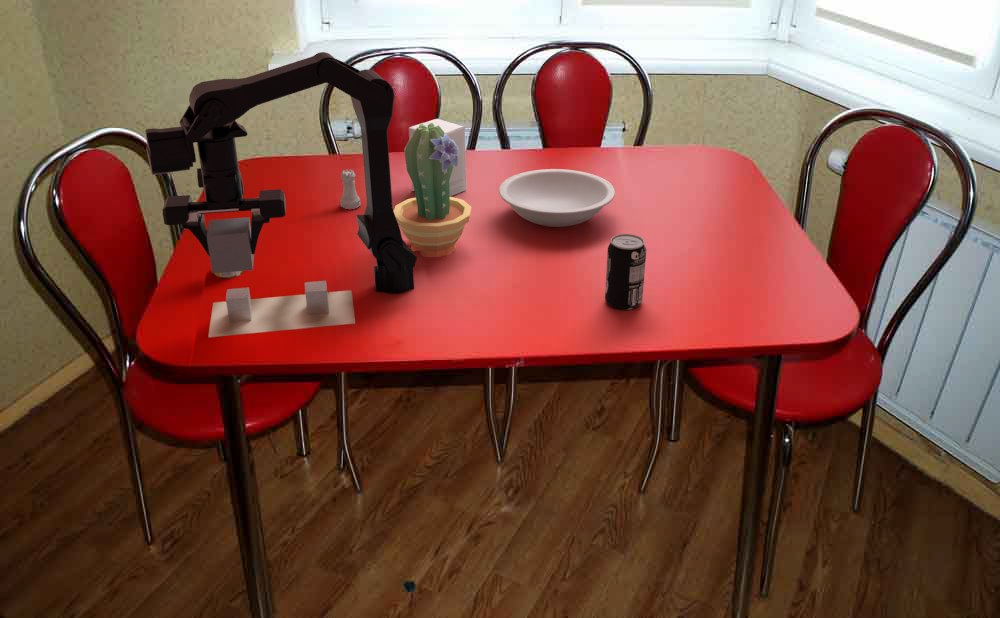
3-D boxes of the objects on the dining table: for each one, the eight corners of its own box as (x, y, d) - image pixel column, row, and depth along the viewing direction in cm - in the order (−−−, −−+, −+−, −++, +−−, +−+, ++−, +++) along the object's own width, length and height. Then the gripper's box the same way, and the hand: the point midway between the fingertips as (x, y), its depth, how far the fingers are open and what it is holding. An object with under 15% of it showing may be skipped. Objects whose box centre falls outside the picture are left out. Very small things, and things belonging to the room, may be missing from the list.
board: (351, 295, 173) (351, 290, 172) (355, 328, 162) (355, 323, 162) (214, 307, 169) (213, 302, 168) (209, 342, 158) (208, 337, 158)
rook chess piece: (350, 200, 211) (347, 166, 207) (365, 205, 209) (362, 170, 205) (336, 207, 208) (332, 172, 204) (351, 212, 205) (348, 176, 201)
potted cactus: (399, 268, 182) (391, 141, 170) (390, 234, 195) (382, 115, 183) (479, 260, 185) (477, 135, 173) (465, 228, 198) (462, 109, 186)
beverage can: (603, 293, 173) (606, 232, 167) (640, 293, 173) (644, 233, 167) (606, 311, 167) (609, 248, 161) (643, 311, 167) (648, 249, 161)
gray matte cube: (254, 253, 162) (249, 217, 159) (252, 270, 157) (247, 233, 153) (214, 256, 161) (209, 220, 158) (212, 273, 156) (206, 236, 152)
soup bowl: (637, 224, 199) (639, 195, 196) (544, 253, 187) (544, 222, 184) (566, 188, 217) (567, 160, 213) (477, 213, 205) (476, 184, 202)
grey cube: (328, 303, 168) (326, 280, 166) (329, 313, 165) (326, 290, 163) (307, 305, 167) (304, 282, 165) (307, 315, 164) (305, 292, 162)
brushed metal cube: (252, 310, 166) (248, 287, 164) (251, 320, 163) (248, 297, 160) (230, 312, 165) (227, 289, 163) (229, 322, 162) (225, 299, 160)
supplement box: (467, 190, 216) (466, 126, 208) (438, 202, 210) (436, 136, 203) (440, 180, 221) (437, 117, 214) (410, 191, 216) (407, 126, 208)
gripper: (280, 144, 159) (290, 230, 167) (163, 151, 156) (178, 239, 163) (280, 168, 150) (290, 258, 157) (155, 175, 146) (171, 267, 154)
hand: (232, 254), depth 158 cm, fingers closed on gray matte cube, 6 cm apart
